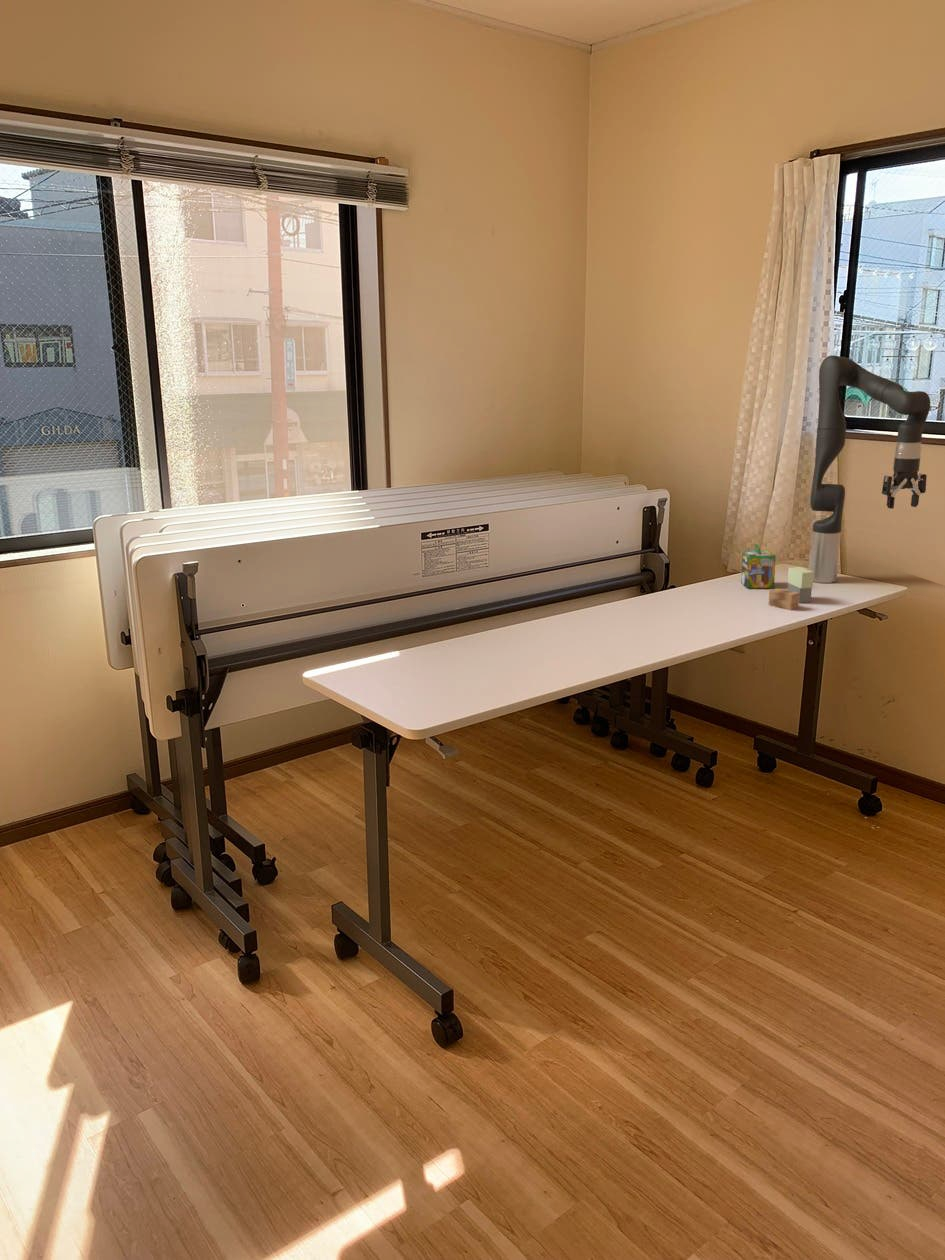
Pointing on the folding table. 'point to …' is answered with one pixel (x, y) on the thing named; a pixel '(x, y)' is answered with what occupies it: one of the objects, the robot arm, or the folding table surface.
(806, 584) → the sage brick
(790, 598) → the walnut brick
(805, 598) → the charcoal brick
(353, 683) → the folding table surface
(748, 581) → the chalk box
